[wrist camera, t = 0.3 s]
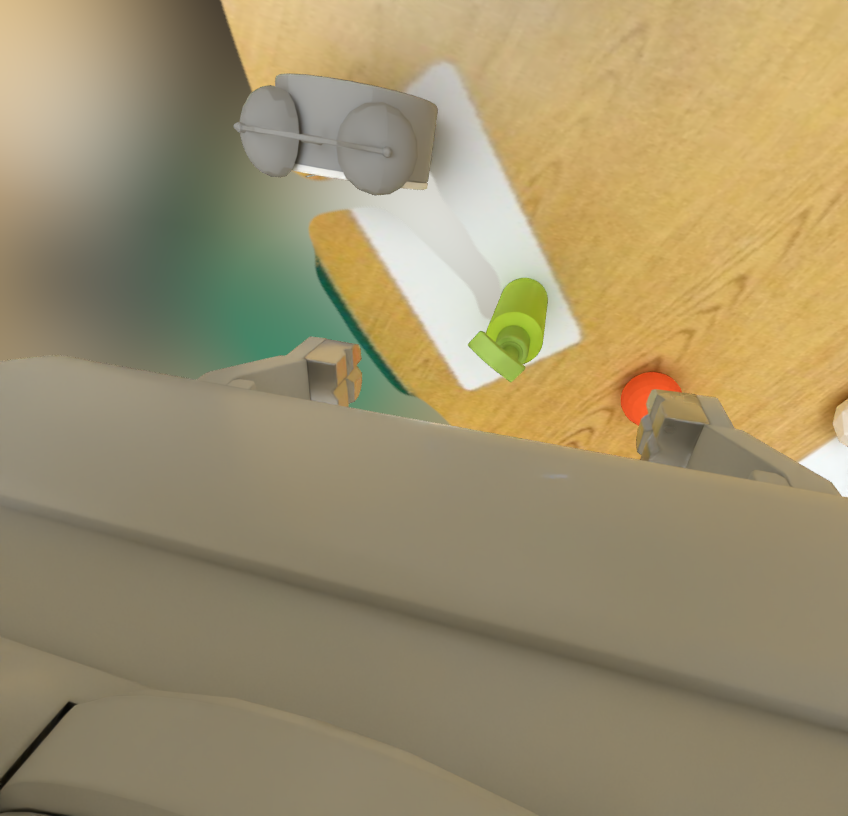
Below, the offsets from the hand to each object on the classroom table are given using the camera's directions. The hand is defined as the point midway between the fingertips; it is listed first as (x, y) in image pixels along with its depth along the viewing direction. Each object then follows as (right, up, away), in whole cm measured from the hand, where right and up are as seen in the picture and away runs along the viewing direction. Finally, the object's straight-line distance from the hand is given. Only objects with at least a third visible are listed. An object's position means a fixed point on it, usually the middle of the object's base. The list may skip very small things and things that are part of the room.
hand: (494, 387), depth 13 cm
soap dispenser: (+10, +13, +46) cm, 49 cm away
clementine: (+27, +2, +47) cm, 55 cm away
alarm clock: (-6, +31, +41) cm, 51 cm away
